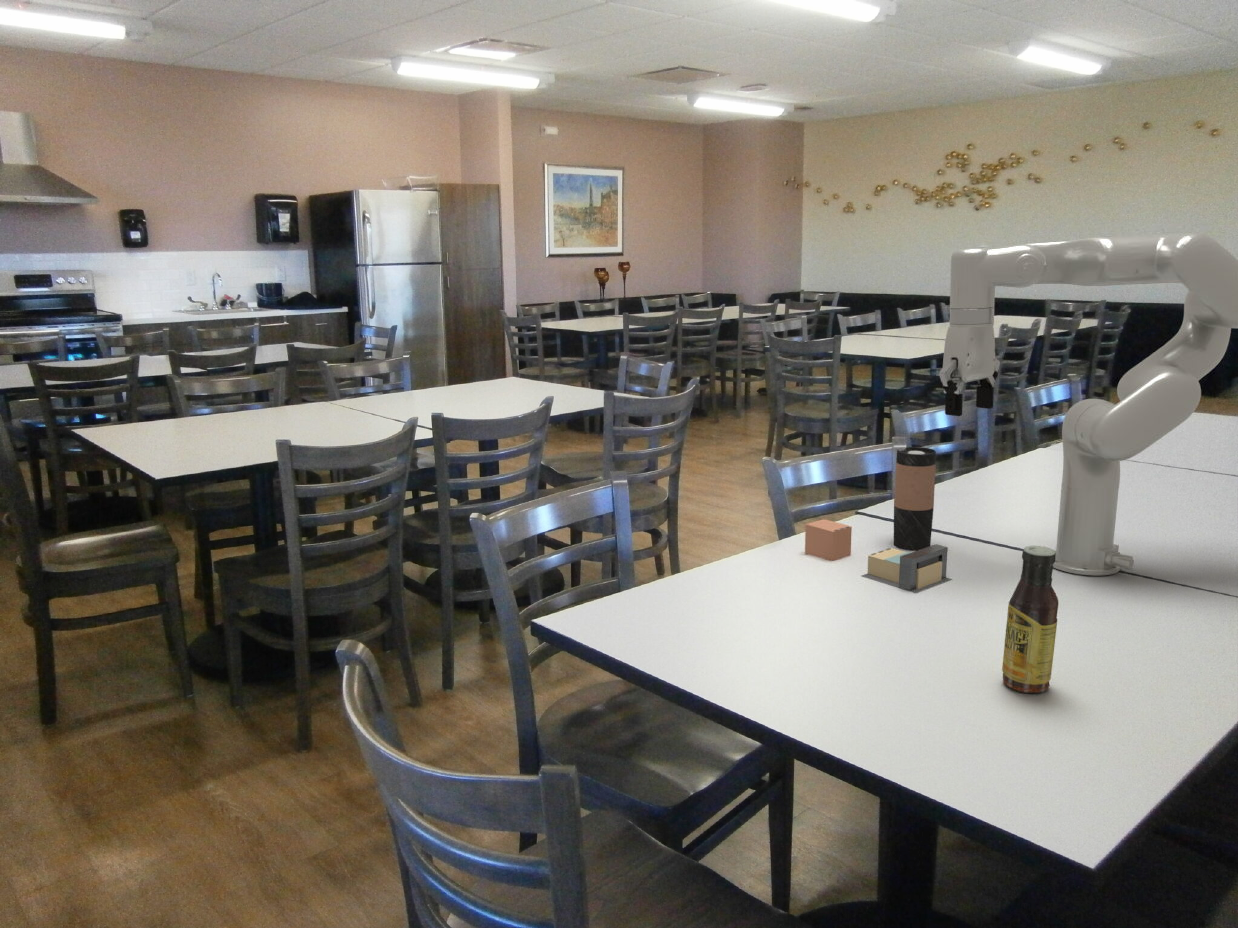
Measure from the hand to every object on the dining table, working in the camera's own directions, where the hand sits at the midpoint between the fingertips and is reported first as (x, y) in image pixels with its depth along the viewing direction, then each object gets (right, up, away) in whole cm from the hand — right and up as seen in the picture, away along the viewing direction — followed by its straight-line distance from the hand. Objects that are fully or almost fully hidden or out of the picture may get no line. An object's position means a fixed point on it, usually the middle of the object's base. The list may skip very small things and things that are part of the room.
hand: (969, 411), depth 173 cm
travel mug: (-5, -27, +18) cm, 33 cm away
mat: (-12, -31, -1) cm, 33 cm away
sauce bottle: (-8, -41, -43) cm, 60 cm away
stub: (-23, -28, +14) cm, 39 cm away
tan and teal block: (-12, -30, 0) cm, 33 cm away
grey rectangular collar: (-10, -31, -3) cm, 33 cm away
